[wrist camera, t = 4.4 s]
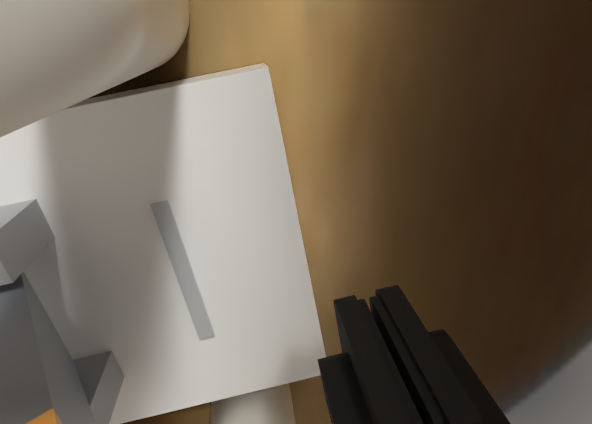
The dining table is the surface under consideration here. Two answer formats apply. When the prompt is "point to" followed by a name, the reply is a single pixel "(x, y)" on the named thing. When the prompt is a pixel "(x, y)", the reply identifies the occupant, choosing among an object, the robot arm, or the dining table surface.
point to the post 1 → (79, 50)
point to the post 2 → (255, 407)
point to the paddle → (35, 364)
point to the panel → (164, 243)
